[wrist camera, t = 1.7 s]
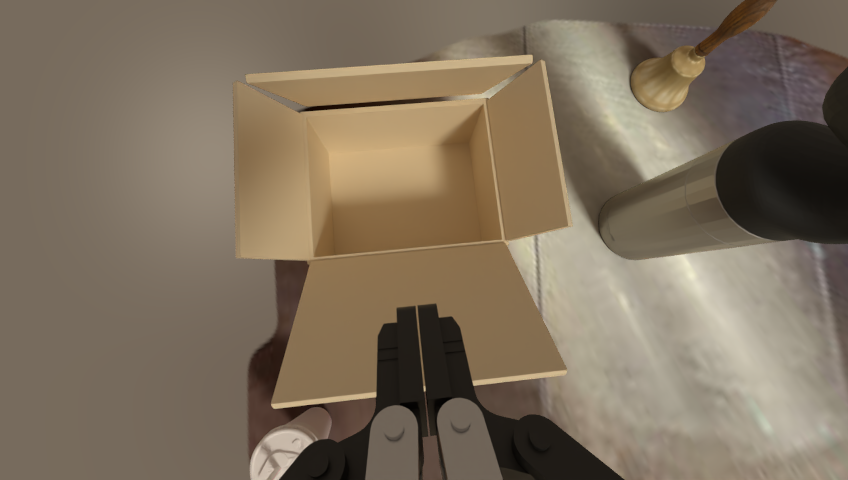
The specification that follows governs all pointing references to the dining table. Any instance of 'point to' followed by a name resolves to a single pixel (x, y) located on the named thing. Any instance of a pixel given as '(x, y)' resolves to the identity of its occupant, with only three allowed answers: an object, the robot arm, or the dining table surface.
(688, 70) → the hand bell
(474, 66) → the front flap
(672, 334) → the dining table surface
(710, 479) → the dining table surface
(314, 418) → the smoothie
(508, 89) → the carton
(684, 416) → the dining table surface
